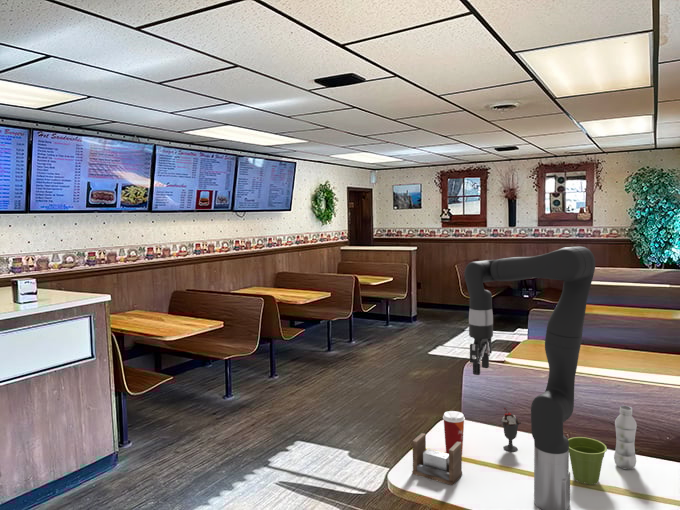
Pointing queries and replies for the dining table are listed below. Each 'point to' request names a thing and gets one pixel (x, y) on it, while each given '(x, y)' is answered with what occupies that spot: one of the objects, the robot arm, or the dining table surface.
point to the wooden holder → (433, 473)
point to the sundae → (510, 430)
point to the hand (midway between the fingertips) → (481, 371)
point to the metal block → (436, 460)
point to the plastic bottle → (625, 439)
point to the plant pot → (586, 459)
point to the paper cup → (453, 428)
